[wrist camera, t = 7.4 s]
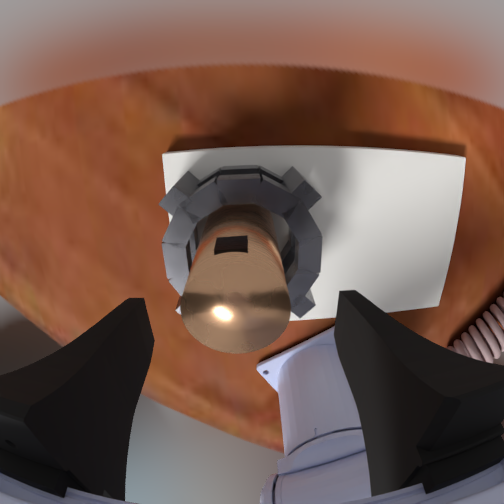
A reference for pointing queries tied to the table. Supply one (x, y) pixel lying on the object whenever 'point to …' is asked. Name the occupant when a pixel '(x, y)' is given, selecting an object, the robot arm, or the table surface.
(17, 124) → the table surface
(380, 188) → the base board
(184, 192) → the collar stand
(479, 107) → the table surface
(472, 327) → the coil
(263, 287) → the tube
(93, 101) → the table surface
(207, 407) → the table surface
